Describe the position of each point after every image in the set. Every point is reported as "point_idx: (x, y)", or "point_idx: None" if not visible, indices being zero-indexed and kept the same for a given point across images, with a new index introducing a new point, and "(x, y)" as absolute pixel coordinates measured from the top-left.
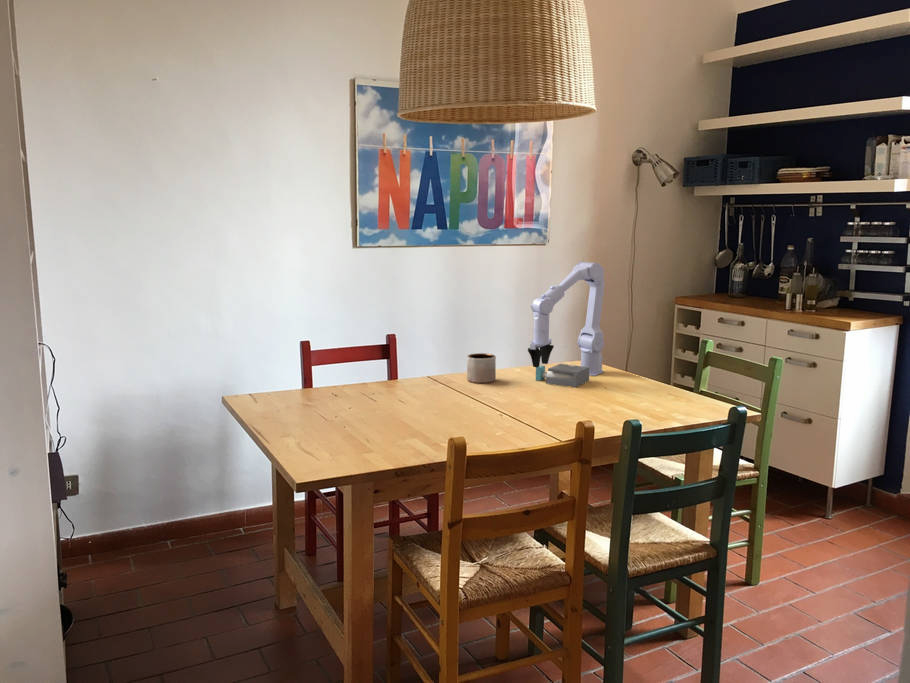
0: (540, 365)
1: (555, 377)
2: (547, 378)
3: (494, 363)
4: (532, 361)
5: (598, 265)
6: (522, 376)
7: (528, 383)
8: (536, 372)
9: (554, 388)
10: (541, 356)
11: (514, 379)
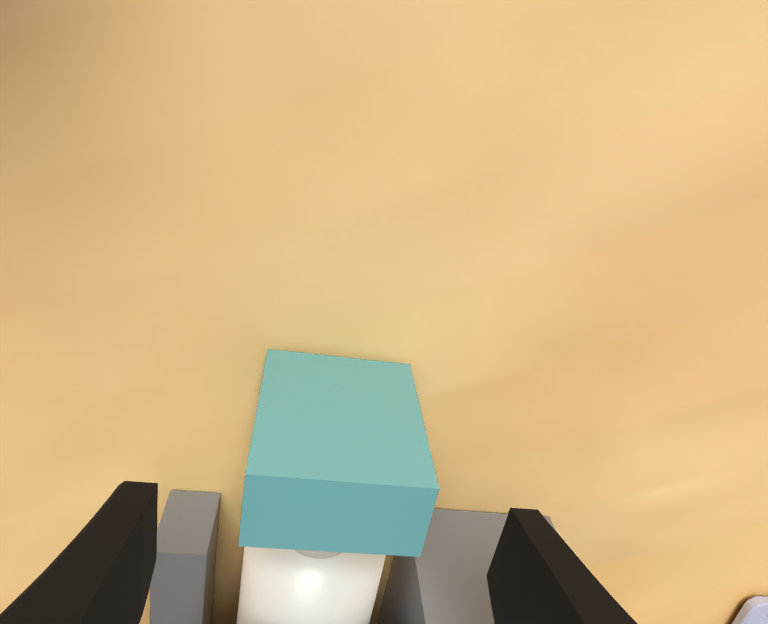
0: (427, 491)
1: (238, 613)
2: None
3: None
4: (59, 564)
5: None
6: (466, 82)
7: (48, 315)
8: (255, 423)
9: (2, 611)
10: (573, 611)
11: (184, 22)
